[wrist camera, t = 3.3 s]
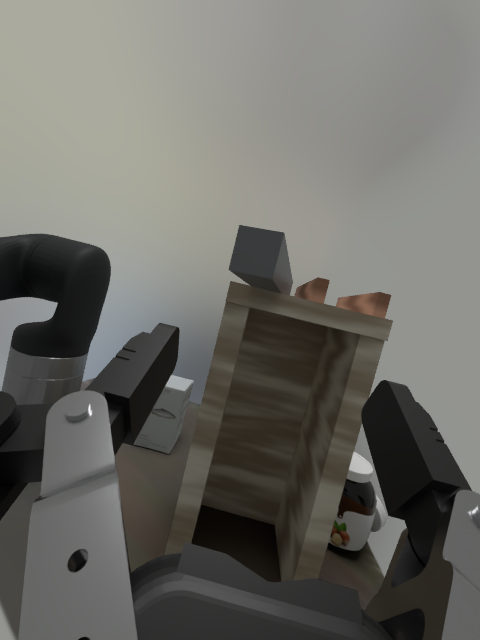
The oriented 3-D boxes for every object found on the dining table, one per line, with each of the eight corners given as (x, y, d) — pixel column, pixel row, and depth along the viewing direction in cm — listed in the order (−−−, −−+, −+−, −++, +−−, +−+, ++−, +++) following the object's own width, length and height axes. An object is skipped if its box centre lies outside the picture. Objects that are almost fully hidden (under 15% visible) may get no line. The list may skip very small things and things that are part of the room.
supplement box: (131, 445, 47) (146, 380, 47) (147, 427, 55) (161, 370, 54) (169, 456, 47) (185, 390, 47) (180, 436, 55) (194, 379, 54)
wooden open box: (308, 625, 26) (400, 295, 24) (157, 582, 27) (236, 255, 25) (289, 520, 39) (348, 300, 37) (188, 492, 40) (241, 274, 38)
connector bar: (272, 279, 16) (284, 232, 16) (228, 269, 17) (239, 225, 17) (287, 302, 37) (292, 282, 37) (267, 298, 37) (272, 277, 37)
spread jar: (289, 523, 38) (309, 450, 38) (310, 487, 48) (325, 429, 47) (377, 585, 32) (402, 498, 32) (380, 529, 42) (400, 462, 41)
